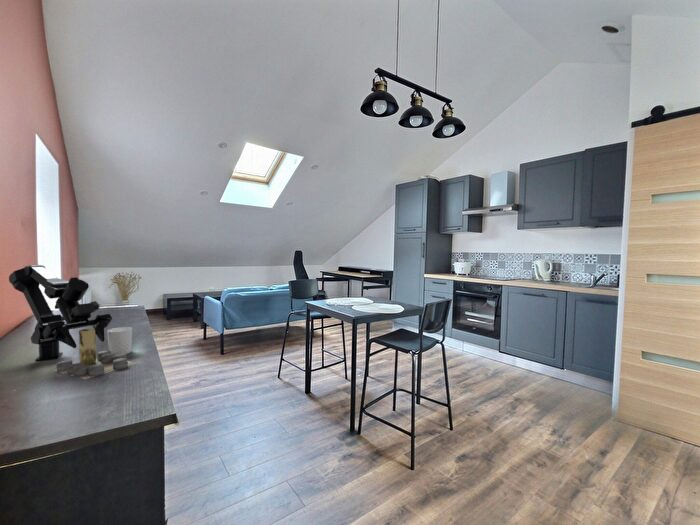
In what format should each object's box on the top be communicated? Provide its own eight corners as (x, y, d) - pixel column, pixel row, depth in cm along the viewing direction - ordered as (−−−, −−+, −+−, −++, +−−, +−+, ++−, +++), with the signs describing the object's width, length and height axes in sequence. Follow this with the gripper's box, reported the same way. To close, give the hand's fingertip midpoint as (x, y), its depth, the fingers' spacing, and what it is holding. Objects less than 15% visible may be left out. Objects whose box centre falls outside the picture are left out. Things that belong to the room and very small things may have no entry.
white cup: (119, 358, 122) (119, 332, 122) (102, 357, 124) (101, 331, 123) (137, 352, 130) (137, 327, 130) (120, 351, 131) (120, 326, 131)
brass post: (81, 363, 114) (80, 329, 113) (97, 361, 116) (96, 328, 116) (78, 367, 110) (77, 332, 110) (94, 365, 112) (94, 330, 112)
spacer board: (53, 372, 107) (53, 363, 107) (106, 358, 122) (106, 349, 122) (86, 382, 100) (86, 371, 100) (139, 365, 114) (138, 356, 114)
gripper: (46, 298, 105) (66, 335, 101) (108, 291, 122) (128, 323, 118) (34, 320, 109) (53, 357, 105) (96, 311, 126) (115, 342, 122)
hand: (89, 344), depth 112 cm, fingers open, 8 cm apart
